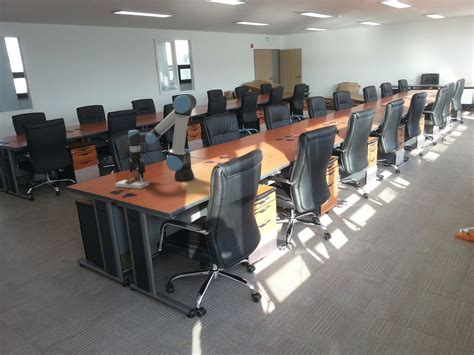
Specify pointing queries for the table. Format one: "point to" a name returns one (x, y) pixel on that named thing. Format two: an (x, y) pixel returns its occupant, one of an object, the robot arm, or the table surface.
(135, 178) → the block
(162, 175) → the table surface
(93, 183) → the table surface
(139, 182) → the board
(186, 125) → the robot arm
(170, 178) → the table surface
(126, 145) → the rubber mallet
